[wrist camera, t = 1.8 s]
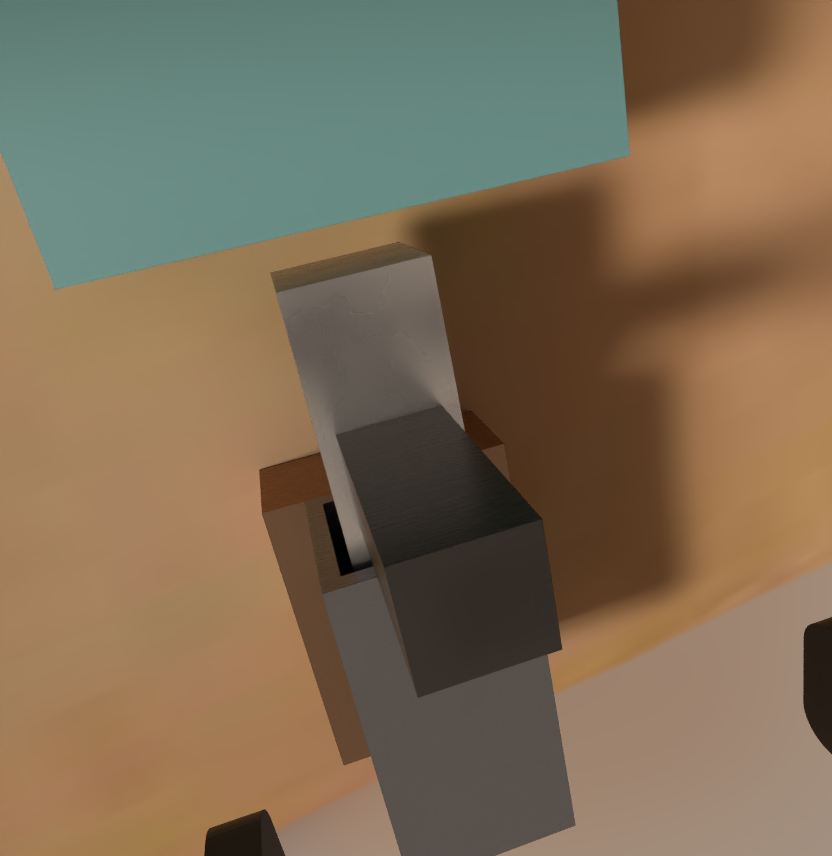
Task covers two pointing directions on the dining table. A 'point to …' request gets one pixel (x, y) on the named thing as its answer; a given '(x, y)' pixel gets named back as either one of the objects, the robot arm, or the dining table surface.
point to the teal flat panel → (286, 115)
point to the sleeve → (397, 700)
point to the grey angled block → (415, 469)
